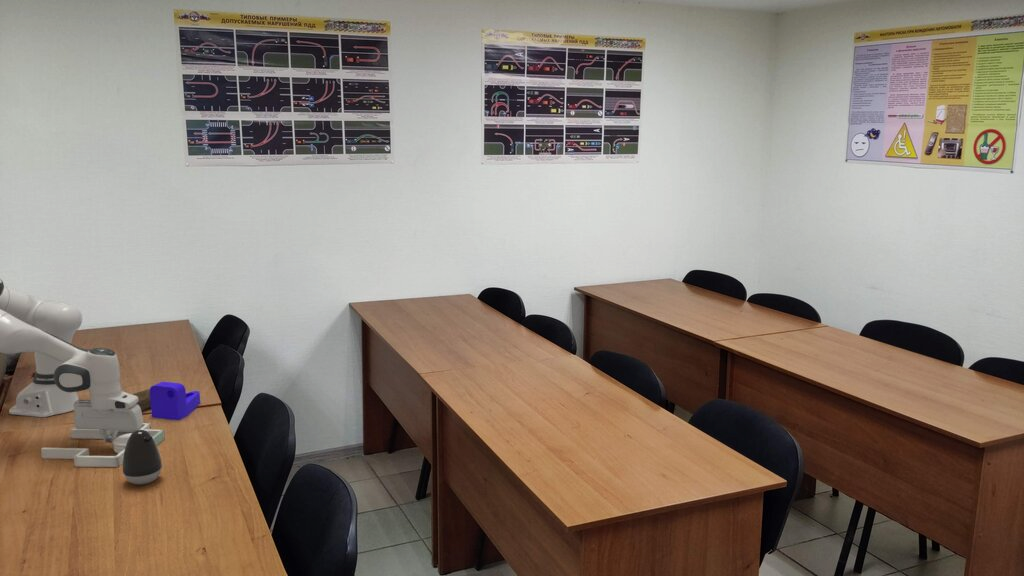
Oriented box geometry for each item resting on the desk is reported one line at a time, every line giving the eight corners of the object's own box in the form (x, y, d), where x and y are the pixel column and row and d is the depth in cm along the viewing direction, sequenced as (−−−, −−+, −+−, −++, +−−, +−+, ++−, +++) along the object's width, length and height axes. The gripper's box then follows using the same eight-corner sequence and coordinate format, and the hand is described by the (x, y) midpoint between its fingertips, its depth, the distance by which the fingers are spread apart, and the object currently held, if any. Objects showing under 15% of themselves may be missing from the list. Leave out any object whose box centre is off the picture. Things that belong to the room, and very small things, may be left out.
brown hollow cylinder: (133, 418, 279) (131, 399, 277) (117, 416, 281) (115, 397, 280) (164, 404, 293) (162, 386, 292) (148, 402, 295) (146, 384, 294)
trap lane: (31, 465, 239) (29, 456, 239) (82, 430, 267) (81, 422, 266) (131, 467, 239) (130, 457, 238) (172, 432, 266) (171, 423, 266)
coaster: (156, 445, 256) (155, 434, 255) (131, 456, 246) (131, 446, 246) (131, 440, 259) (130, 430, 258) (106, 452, 250) (105, 441, 249)
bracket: (178, 420, 277) (176, 387, 275) (151, 417, 280) (149, 385, 278) (211, 403, 294) (208, 372, 292) (185, 400, 297) (183, 370, 295)
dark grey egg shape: (138, 492, 223) (133, 440, 220) (116, 483, 228) (111, 432, 225) (171, 478, 231) (167, 428, 228) (148, 470, 237) (144, 421, 234)
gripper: (67, 402, 247) (71, 445, 249) (133, 403, 246) (137, 446, 249) (78, 395, 253) (82, 437, 256) (143, 397, 252) (146, 438, 255)
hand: (110, 442), depth 252 cm, fingers closed
